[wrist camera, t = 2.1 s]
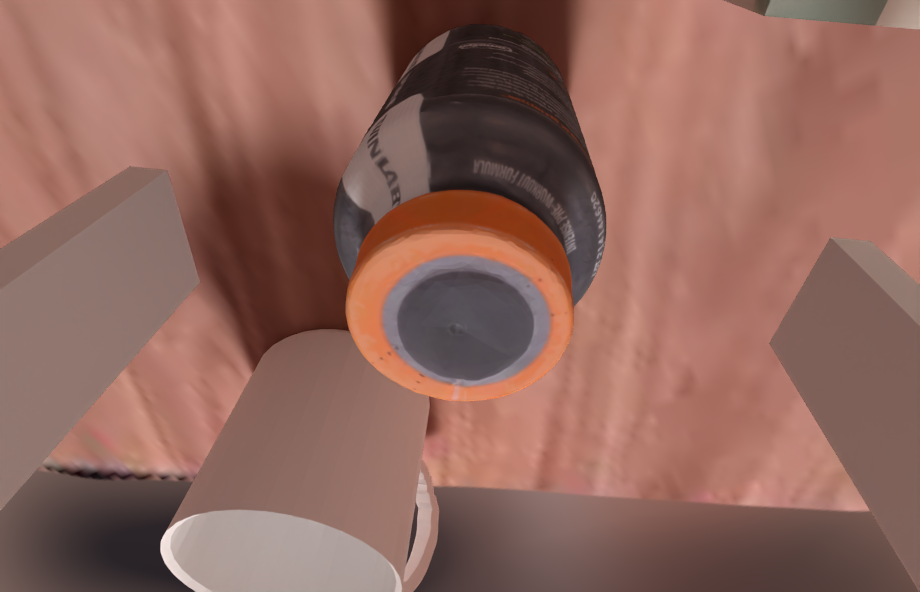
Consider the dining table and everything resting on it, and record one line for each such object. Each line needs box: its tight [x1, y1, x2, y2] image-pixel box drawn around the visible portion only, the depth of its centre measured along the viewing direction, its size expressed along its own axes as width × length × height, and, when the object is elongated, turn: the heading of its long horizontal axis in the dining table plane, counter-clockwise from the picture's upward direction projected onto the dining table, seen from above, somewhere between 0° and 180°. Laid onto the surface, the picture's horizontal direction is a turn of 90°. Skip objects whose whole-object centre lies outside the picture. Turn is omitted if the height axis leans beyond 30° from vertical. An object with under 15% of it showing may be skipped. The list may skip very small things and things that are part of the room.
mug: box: [161, 329, 439, 592], centre depth 24 cm, size 12×9×9 cm
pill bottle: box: [333, 24, 606, 401], centre depth 13 cm, size 6×6×11 cm
